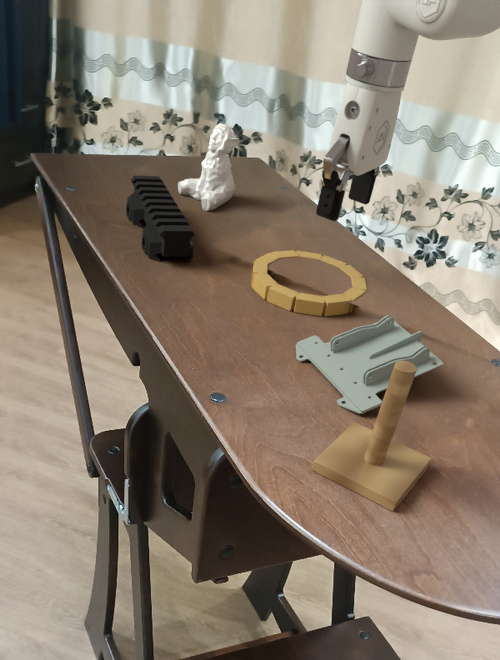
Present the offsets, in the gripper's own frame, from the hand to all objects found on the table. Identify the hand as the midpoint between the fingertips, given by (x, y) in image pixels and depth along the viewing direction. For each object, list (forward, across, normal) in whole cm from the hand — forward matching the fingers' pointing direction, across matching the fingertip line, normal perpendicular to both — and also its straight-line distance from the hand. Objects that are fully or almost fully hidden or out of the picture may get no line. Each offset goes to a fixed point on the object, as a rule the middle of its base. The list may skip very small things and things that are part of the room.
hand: (342, 209), depth 100 cm
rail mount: (+10, -10, +25) cm, 28 cm away
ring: (+9, -7, 0) cm, 12 cm away
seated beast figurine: (+10, +10, +28) cm, 32 cm away
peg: (+9, -38, -26) cm, 47 cm away
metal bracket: (+9, -22, -17) cm, 29 cm away
